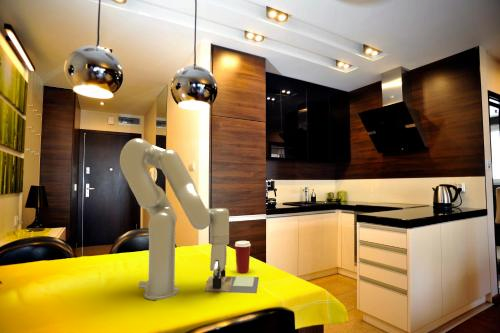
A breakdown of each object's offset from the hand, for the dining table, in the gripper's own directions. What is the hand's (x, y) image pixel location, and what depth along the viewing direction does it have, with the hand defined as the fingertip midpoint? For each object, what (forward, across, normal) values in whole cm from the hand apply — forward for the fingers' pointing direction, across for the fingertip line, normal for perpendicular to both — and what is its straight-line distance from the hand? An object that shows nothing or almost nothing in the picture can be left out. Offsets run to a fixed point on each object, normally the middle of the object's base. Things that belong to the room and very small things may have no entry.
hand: (219, 284), depth 108 cm
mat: (+2, -5, +5) cm, 7 cm away
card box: (+2, 0, 0) cm, 2 cm away
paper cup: (+2, -21, +7) cm, 22 cm away
